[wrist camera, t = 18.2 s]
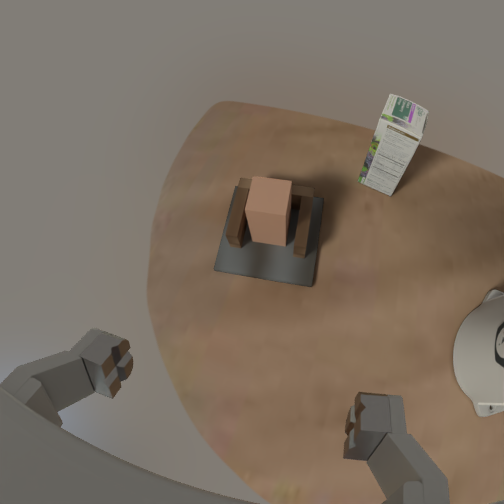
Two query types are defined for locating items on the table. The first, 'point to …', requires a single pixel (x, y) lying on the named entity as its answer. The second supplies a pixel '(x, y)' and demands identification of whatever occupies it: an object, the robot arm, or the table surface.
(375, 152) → the syrup box
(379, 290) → the table surface
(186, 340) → the table surface
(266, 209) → the block
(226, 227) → the stop cradle
